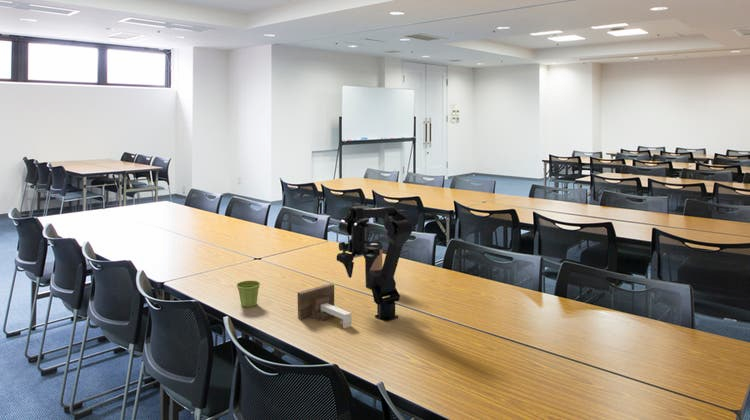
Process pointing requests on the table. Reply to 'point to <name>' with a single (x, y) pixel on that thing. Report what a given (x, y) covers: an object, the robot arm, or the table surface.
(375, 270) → the travel mug
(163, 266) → the table surface
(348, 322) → the bed rail
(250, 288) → the plant pot
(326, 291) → the brown wooden block
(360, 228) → the robot arm
